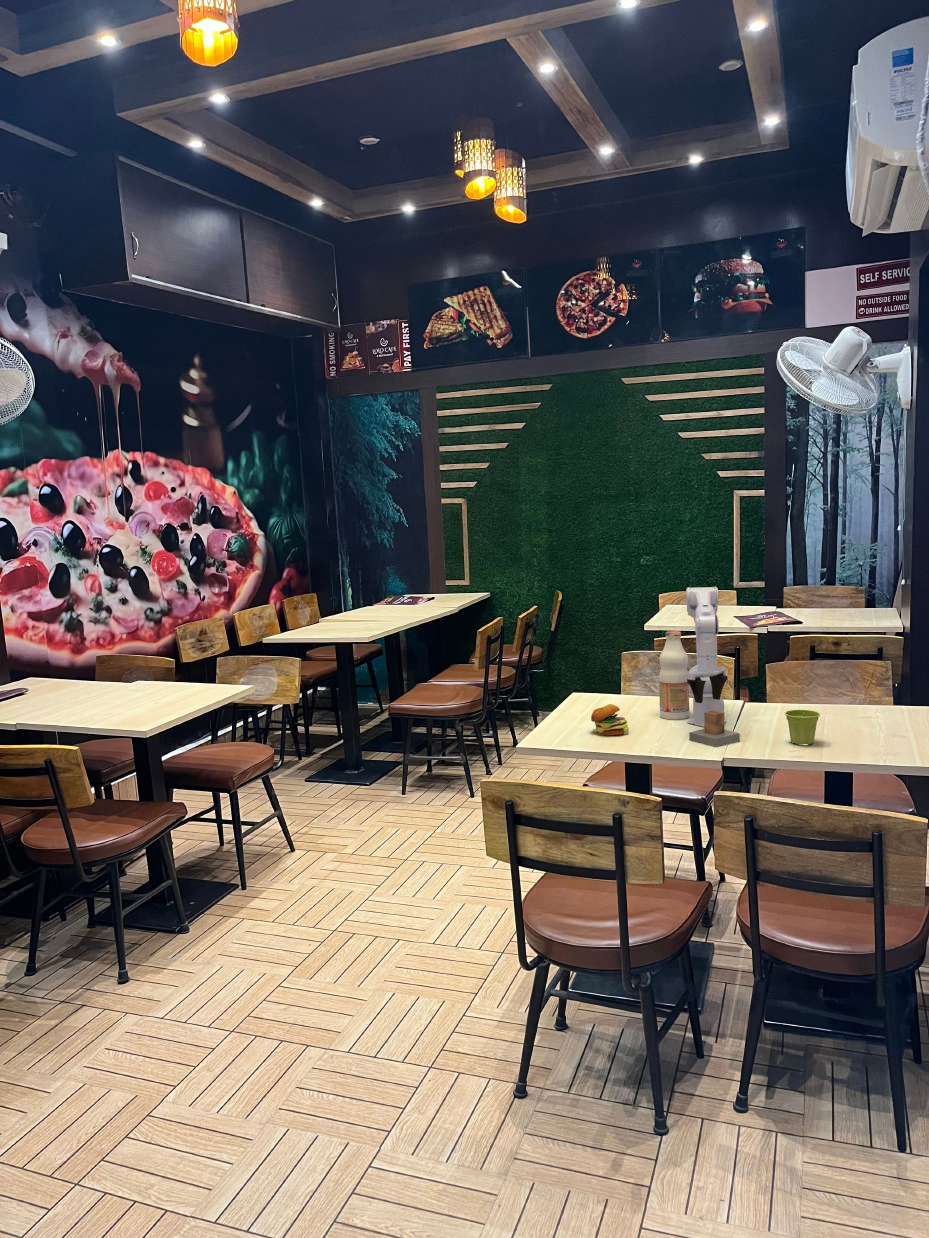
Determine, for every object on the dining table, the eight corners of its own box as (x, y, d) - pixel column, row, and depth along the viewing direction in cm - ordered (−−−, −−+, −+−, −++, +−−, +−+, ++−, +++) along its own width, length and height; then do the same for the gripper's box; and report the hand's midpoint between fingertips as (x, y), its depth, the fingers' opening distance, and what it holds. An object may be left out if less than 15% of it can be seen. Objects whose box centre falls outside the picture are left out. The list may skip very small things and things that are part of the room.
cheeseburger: (622, 738, 268) (614, 706, 268) (591, 743, 274) (582, 711, 274) (634, 730, 277) (626, 698, 277) (603, 735, 282) (595, 704, 282)
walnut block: (713, 730, 264) (713, 710, 263) (724, 732, 260) (724, 712, 260) (704, 732, 261) (704, 712, 261) (715, 735, 258) (715, 714, 257)
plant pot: (823, 747, 249) (823, 716, 248) (787, 747, 251) (788, 716, 250) (816, 738, 259) (816, 709, 258) (782, 738, 260) (782, 709, 259)
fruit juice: (654, 717, 293) (652, 632, 290) (670, 712, 299) (669, 629, 296) (678, 721, 286) (677, 634, 283) (695, 716, 293) (693, 631, 289)
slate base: (713, 736, 268) (713, 726, 268) (739, 743, 259) (739, 733, 259) (689, 742, 263) (689, 732, 263) (715, 749, 254) (715, 738, 254)
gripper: (700, 659, 258) (701, 706, 259) (734, 654, 266) (734, 699, 267) (682, 657, 264) (682, 702, 265) (715, 652, 272) (716, 696, 273)
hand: (707, 700), depth 267 cm, fingers open, 7 cm apart
